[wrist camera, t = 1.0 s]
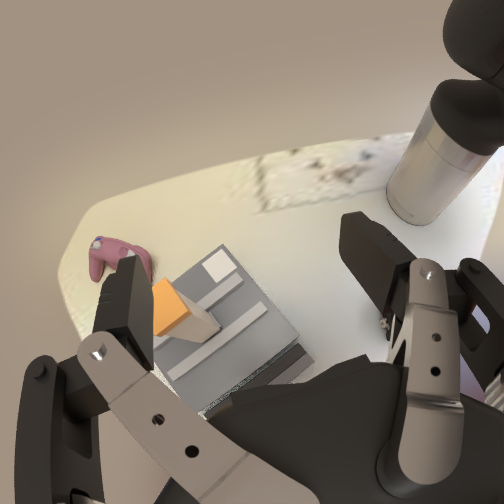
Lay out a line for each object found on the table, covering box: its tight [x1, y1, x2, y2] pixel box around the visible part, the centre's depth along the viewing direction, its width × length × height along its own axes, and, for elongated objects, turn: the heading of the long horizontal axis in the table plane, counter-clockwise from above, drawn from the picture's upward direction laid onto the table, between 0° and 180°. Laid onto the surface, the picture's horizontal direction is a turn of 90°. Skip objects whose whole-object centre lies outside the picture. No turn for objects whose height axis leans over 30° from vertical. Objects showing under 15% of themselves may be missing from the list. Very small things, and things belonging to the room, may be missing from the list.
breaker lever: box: [152, 278, 223, 343], centre depth 25 cm, size 3×3×14 cm
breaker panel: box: [153, 244, 299, 413], centre depth 33 cm, size 15×14×4 cm
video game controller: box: [89, 236, 151, 284], centre depth 36 cm, size 10×5×7 cm, turn 76°
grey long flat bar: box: [203, 343, 314, 419], centre depth 32 cm, size 14×3×1 cm, turn 129°
